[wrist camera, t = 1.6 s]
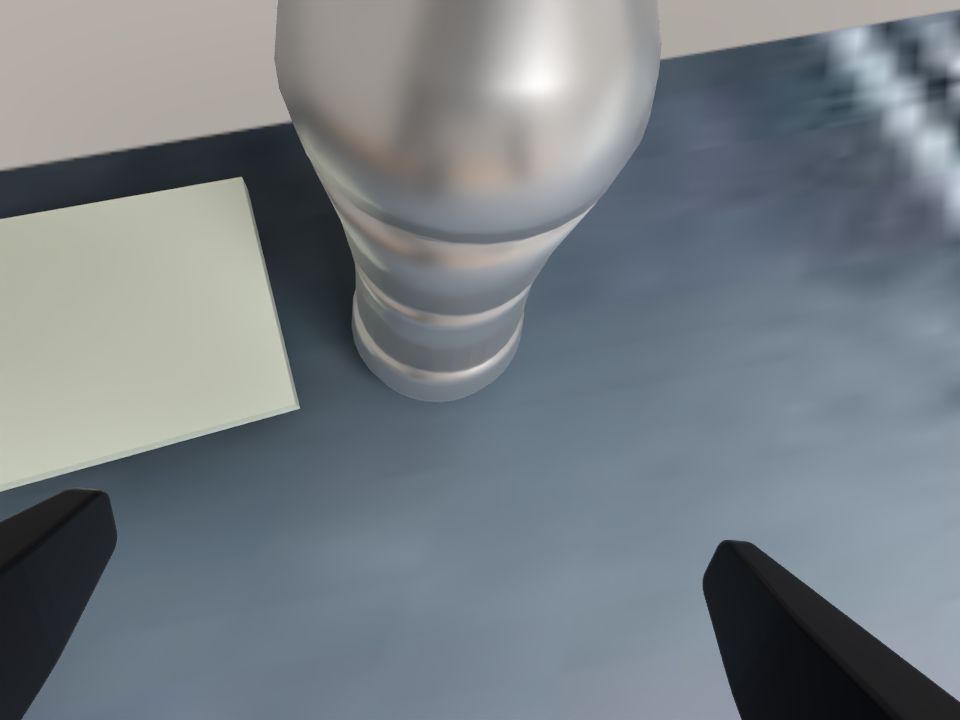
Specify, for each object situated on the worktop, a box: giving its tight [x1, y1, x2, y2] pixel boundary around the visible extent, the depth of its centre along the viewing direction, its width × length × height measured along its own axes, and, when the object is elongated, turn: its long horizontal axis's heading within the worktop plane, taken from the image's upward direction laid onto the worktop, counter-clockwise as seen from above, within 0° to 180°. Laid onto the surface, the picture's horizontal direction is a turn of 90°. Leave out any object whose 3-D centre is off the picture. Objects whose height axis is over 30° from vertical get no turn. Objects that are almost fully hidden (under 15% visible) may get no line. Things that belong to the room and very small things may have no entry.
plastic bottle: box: [275, 0, 661, 402], centre depth 13 cm, size 6×7×20 cm
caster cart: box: [0, 177, 300, 491], centre depth 20 cm, size 10×10×2 cm
